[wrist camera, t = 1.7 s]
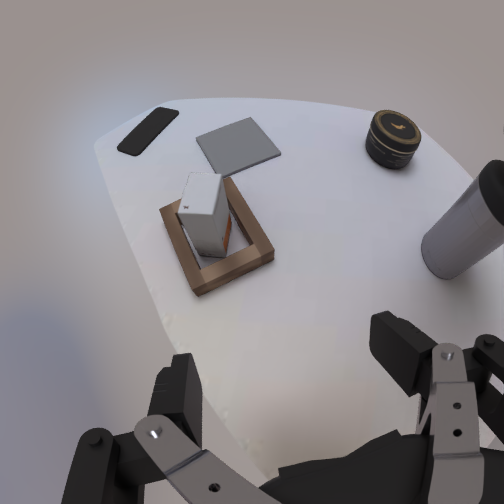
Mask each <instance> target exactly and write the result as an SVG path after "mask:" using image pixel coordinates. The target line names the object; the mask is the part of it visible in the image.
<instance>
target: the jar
mask: <svg viewBox="0 0 504 504" xmlns="http://www.w3.org/2000/svg"><path fill="white" fill-rule="evenodd" d="M420 141H421V133H420V130H419V129H418V127H417V126H416V125H415V123H414V122H413V121H411V120H410V119H409V118H408V117H406V116H404V115H403V114H400V113H398V112H395V111H391V110H381V111H378V112H377V113H376V114H375V115H374V117H373V119H372V121H371V124H370V129H369V131H368V134H367V138H366V148H367V151H368V153H369V154H370V156H371V157H372V158H373V159H374V160H375V161H376V162H377V163H379V164H380V165H382V166H384V167H387V168H391V169H398V168H402V167H404V166H405V165H406V164H407V163H408V162H409V161H410V160H411V158H412V156H413V154H414V153H415V151H416V150H417V148H418V146H419V144H420Z"/></svg>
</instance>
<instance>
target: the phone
mask: <svg viewBox="0 0 504 504" xmlns="http://www.w3.org/2000/svg"><path fill="white" fill-rule="evenodd" d="M178 115H179V111H177V110H173V109H168V108H163V107H158V108H156V109H155V110H153V111H152V112H151V113H150V114H149V115H148V116H147V117H146V118H145V119H144V120H143V121H142V122H141V123H140V124H138V125H137V126H136V127H135V128H134V129H133V130H132V131H131V132H130V133H129V134H128V135H127V136H126V137H125V138H124V139H123V141H122V142H121V143H120V144H119V145H118V146H117V149H118V151H120V152H123V153H126V154H129V155H132V156H138V155H140V154H141V153H142V152H143V151H144V150H145V149H146V147H147V146H148V145H149V144H150V143H151V142H152V141H153V140H154V139H155V138H156V137H157V136H158V135H159V134H160V133H161V132H162V131H163V130H164V129H165V128H166V127H167V126H168V125H169V124H170V123H171V122H172V121H173V120H174V119H175V118H176V117H177V116H178Z"/></svg>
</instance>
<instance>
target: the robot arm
mask: <svg viewBox="0 0 504 504" xmlns="http://www.w3.org/2000/svg"><path fill="white" fill-rule="evenodd" d="M502 244H504V161H501V160H492V161H490V162H489V163H488V164H487V165H486V166H485V167H484V168H483V170H482V171H481V172H480V174H479V175H478V176H477V177H476V179H475V180H474V181H473V182H472V183H471V185H470V186H469V187H468V188H467V190H466V191H465V192H464V193H463V194H462V195H461V197H460V198H459V199H458V200H457V201H456V202H455V203H454V204H453V206H452V207H451V208H450V209H449V210H448V211H447V212H446V213H445V214H444V215H443V216H442V217H441V219H440V220H439V221H438V222H437V223H436V224H435V225H434V226H433V227H432V228H431V229H430V230H429V231H428V232H427V233H426V234H425V236H424V238H423V240H422V254H423V258H424V260H425V262H426V264H427V266H428V267H429V269H430V270H431V271H432V272H433V273H434V274H435V275H437V276H438V277H440V278H443V279H452V278H454V277H455V276H457V275H459V274H460V273H462V272H463V271H465V270H466V269H468V268H470V267H471V266H473V265H474V264H476V263H477V262H478V261H480V260H481V259H483V258H484V257H486V256H487V255H488V254H490V253H491V252H493V251H494V250H495V249H497V248H498V247H500V246H501V245H502ZM369 346H370V351H371V353H372V355H373V356H374V357H375V359H376V360H377V361H378V362H379V363H380V364H381V365H382V367H383V368H384V369H385V370H386V371H387V372H388V373H389V375H390V376H391V377H392V378H393V379H394V380H395V381H396V383H397V384H398V385H399V386H400V387H401V388H402V389H403V391H404V392H405V393H406V394H407V395H408V396H409V397H411V396H413V395H415V394H417V393H420V395H421V396H420V399H419V407H418V416H417V424H416V431H415V434H409V435H402V436H401V435H400V433H399V432H398V430H397V429H396V430H394V431H391V432H389V433H387V434H385V435H382V436H380V437H378V438H375V439H373V440H371V441H369V442H368V443H366V444H365V445H363V446H362V447H360V448H358V449H357V450H355V451H354V452H352V453H350V454H349V455H347V456H345V457H341V458H333V459H324V460H312V461H307V462H303V463H299V464H295V465H290V466H286V467H281V468H278V470H279V476H278V477H276V478H273V479H271V480H270V481H268V482H266V483H265V484H263V485H262V486H260V487H259V488H257V487H256V486H254V485H253V484H251V483H250V482H249V481H247V480H246V479H244V478H243V477H242V476H240V475H239V474H238V473H236V472H235V471H234V470H232V469H231V468H230V467H229V466H227V465H226V464H225V463H224V462H222V461H221V460H220V459H219V458H217V457H216V456H215V455H214V454H213V453H211V452H210V451H209V450H207V449H205V450H202V386H201V381H200V378H199V375H198V372H197V369H196V366H195V362H194V359H193V356H192V354H191V353H185V354H177V355H174V356H173V359H172V363H171V367H164V368H163V369H162V370H161V371H160V372H159V374H158V375H157V378H156V382H155V386H154V389H153V393H152V398H151V402H150V406H149V410H148V415H147V417H145V418H143V419H141V420H140V421H139V422H138V423H137V425H136V426H135V428H134V431H132V432H129V433H125V434H121V435H116V436H113V435H112V434H111V433H110V432H109V431H108V430H106V429H104V428H93V429H90V430H88V431H87V432H85V433H84V434H83V435H82V436H81V438H80V440H79V442H78V445H77V448H76V452H75V455H74V458H73V461H72V465H71V468H70V472H69V475H68V479H67V483H66V486H65V490H64V494H63V498H62V502H61V504H144V489H145V484H148V483H152V482H156V481H160V480H164V479H167V480H168V482H169V483H170V484H171V485H172V486H173V487H174V488H175V489H176V491H177V492H178V493H179V494H180V495H181V496H182V497H183V498H184V499H185V500H186V501H187V502H188V503H189V504H504V451H500V450H494V449H488V448H482V447H480V443H479V421H478V415H479V416H480V418H481V419H482V420H483V421H484V422H485V423H486V424H487V426H488V427H489V428H490V429H491V430H492V431H493V432H494V434H495V435H496V436H497V437H498V438H499V440H500V441H501V442H502V443H503V444H504V394H503V395H502V394H501V393H500V392H499V391H498V390H497V389H496V388H495V387H494V386H493V385H492V384H491V383H489V380H490V378H491V375H492V373H493V374H494V375H495V376H496V377H497V378H499V379H500V380H501V381H502V382H503V384H504V342H503V341H502V340H500V339H499V338H497V337H496V336H494V335H490V334H484V335H480V336H478V337H477V338H476V341H475V344H474V347H472V348H468V349H464V350H461V348H460V347H458V346H457V345H454V344H451V343H442V344H437V343H436V342H435V341H434V340H432V339H431V338H430V337H429V336H427V335H426V334H425V333H423V332H421V330H420V329H418V328H417V327H415V326H414V325H413V324H412V323H410V322H409V321H407V320H404V319H402V318H397V317H396V316H394V315H393V314H392V313H391V312H389V311H384V312H381V313H377V314H374V315H372V317H371V326H370V341H369Z"/></svg>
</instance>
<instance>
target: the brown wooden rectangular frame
mask: <svg viewBox="0 0 504 504" xmlns="http://www.w3.org/2000/svg"><path fill="white" fill-rule="evenodd" d="M223 183H224V188H225V193H226V197H227V202H228V207H229V209H230V211H231V212H232V214H233V216H234V218H235V219H236V221H237V223H238V225H239V227H240V228H241V230H242V232H243V234H244V235H245V237H246V239H247V241H248V242H249V244H250V246H249V247H246V248H244V249H242V250H240V251H238V252H236V253H234V254H232V255H230V256H228V257H226V258H224V259H222V260H220V261H218V262H215V263H213V264H211V265H209V266H207V267H205V268H203V269H200V266H199V264H198V262H197V260H196V258H195V255H194V253H193V251H192V249H191V246H190V244H189V242H188V240H187V237H186V235H185V233H184V230H183V228H182V226H181V224H183V223H182V221H181V219H180V217H179V215H178V209H179V206H180V203H181V199H182V198H181V199H179V200H177V201H175V202H173V203H171V204H169V205H167V206H165V207H163V208H161V209H159V210H160V213H161V216H162V218H163V221H164V224H165V226H166V229H167V231H168V234H169V236H170V239H171V241H172V244H173V246H174V249H175V251H176V254H177V256H178V259H179V261H180V263H181V266H182V268H183V271H184V273H185V275H186V278H187V280H188V282H189V285H190V287H191V289H192V291H193V292H194V293H195V294H196V295H197V296H201V295H203V294H205V293H207V292H209V291H211V290H213V289H215V288H217V287H219V286H221V285H223V284H225V283H227V282H229V281H231V280H233V279H235V278H237V277H239V276H241V275H243V274H246V273H248V272H250V271H252V270H254V269H256V268H258V267H260V266H262V265H264V264H266V263H268V262H270V261H272V260H274V250H275V249H274V248H273V246H272V244H271V243H270V241H269V239H268V238H267V236H266V234H265V233H264V231H263V229H262V228H261V226H260V224H259V223H258V221H257V220H256V218H255V216H254V215H253V213H252V211H251V210H250V208H249V206H248V205H247V203H246V201H245V200H244V198H243V197H242V195H241V193H240V192H239V190H238V188H237V187H236V185H235V184H234V182H233V180H232V179H231V177H228V178H226V179H223Z"/></svg>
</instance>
